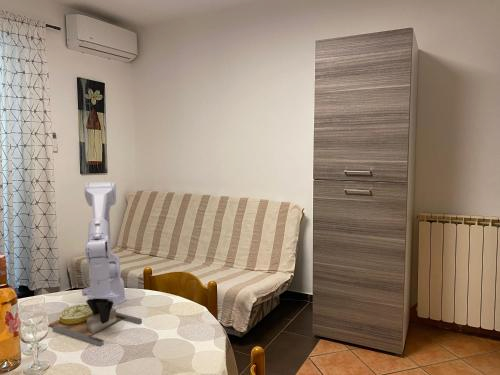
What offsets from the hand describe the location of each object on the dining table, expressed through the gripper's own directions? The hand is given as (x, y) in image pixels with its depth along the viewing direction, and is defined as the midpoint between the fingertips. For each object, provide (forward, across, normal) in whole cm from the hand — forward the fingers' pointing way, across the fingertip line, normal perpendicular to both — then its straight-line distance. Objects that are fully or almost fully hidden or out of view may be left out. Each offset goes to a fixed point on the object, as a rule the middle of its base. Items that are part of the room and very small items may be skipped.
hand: (102, 321), depth 113 cm
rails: (+2, -2, 0) cm, 3 cm away
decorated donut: (+3, -12, +1) cm, 13 cm away
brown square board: (+2, -8, 0) cm, 8 cm away
